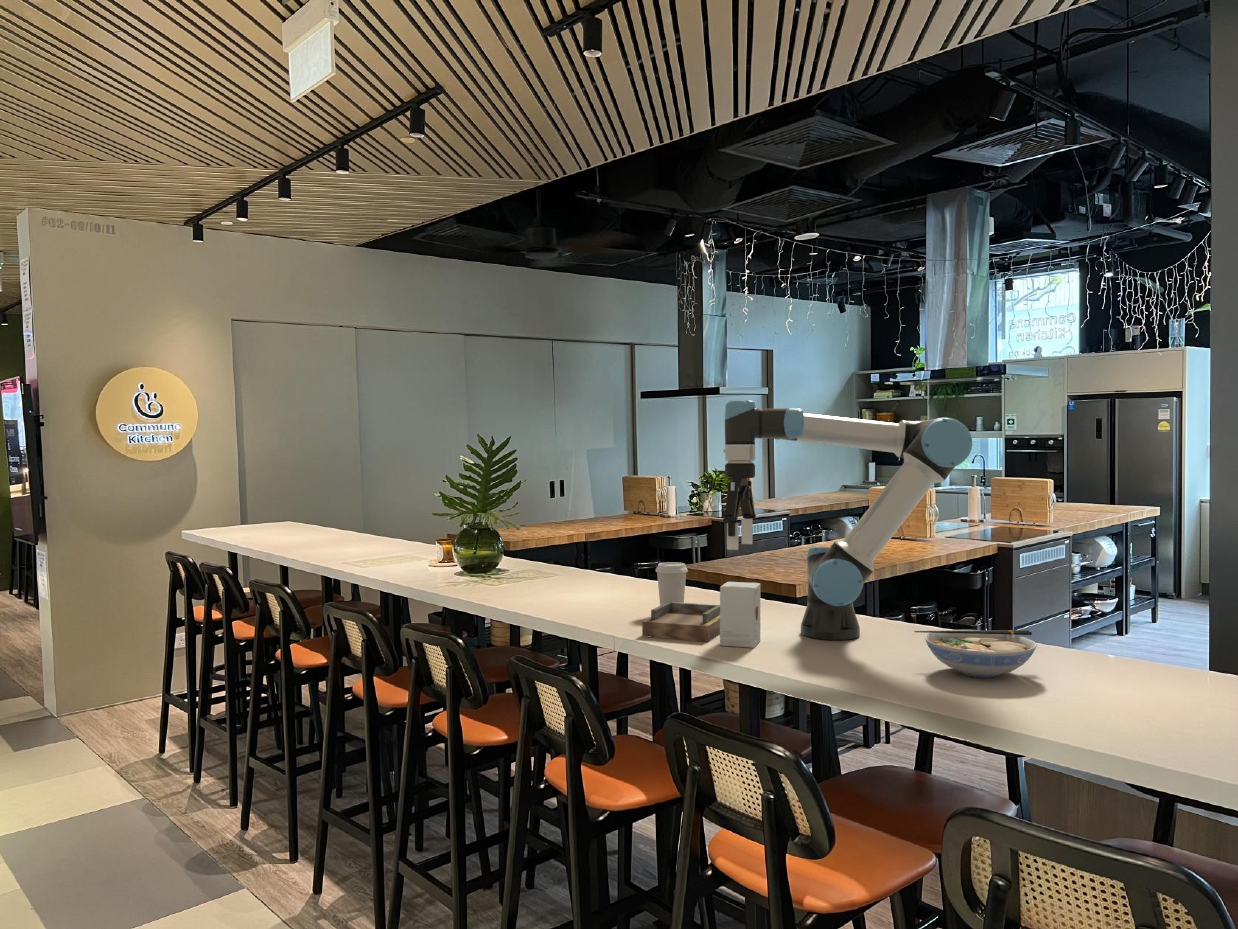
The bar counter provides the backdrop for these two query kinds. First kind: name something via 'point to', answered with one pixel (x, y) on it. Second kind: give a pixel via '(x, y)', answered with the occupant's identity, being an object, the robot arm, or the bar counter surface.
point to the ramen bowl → (981, 650)
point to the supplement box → (740, 614)
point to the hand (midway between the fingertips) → (740, 546)
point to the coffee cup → (671, 582)
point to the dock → (683, 622)
